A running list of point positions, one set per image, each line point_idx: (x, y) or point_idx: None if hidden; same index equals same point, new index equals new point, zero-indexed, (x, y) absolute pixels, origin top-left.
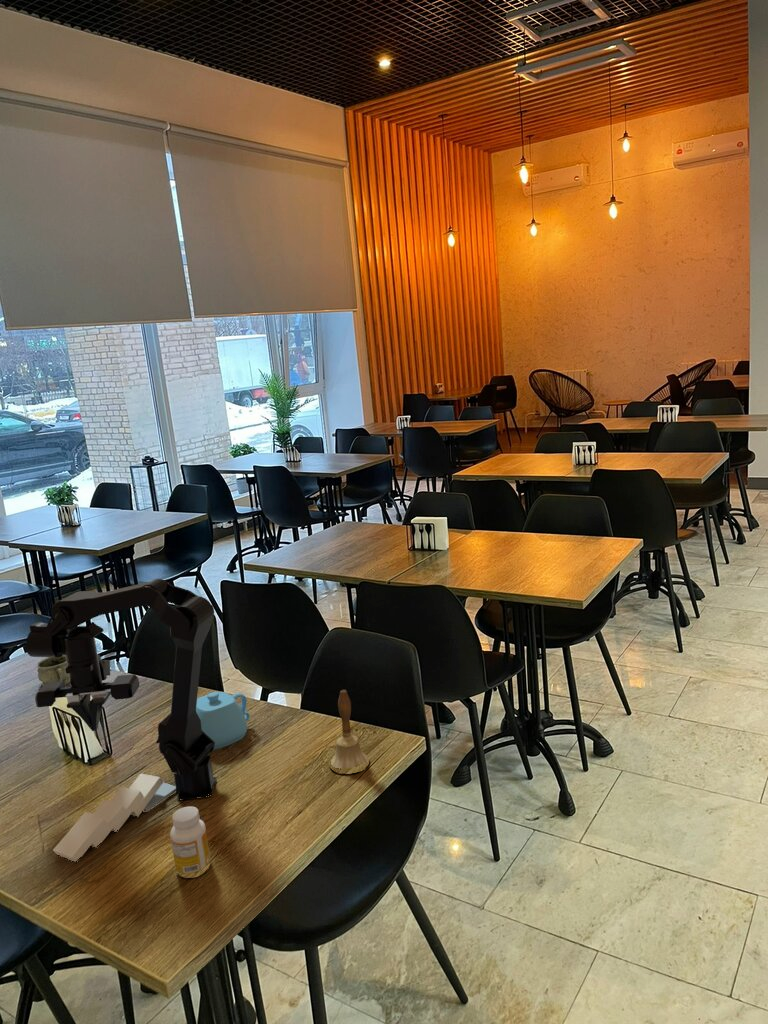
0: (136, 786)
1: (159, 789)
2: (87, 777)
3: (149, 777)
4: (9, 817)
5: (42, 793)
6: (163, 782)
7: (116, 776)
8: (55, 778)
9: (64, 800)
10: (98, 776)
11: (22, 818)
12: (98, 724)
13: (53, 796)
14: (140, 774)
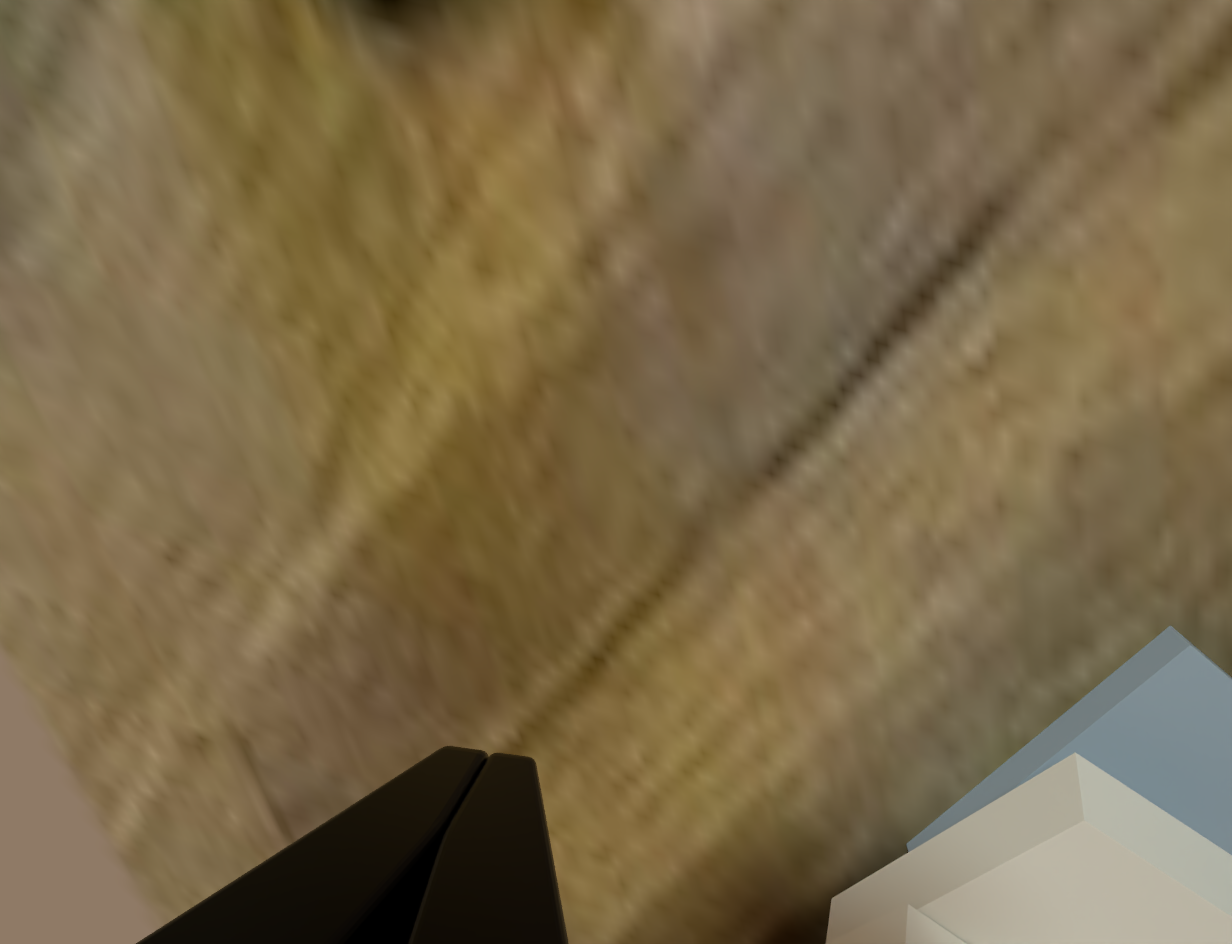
0: (1028, 916)
1: (1180, 772)
2: (432, 278)
3: (1185, 912)
4: (38, 703)
5: (128, 444)
6: (1220, 669)
7: (716, 340)
8: (129, 209)
9: (356, 604)
10: (536, 289)
11: (138, 743)
12: (543, 807)
13: (241, 519)
14: (1084, 829)
